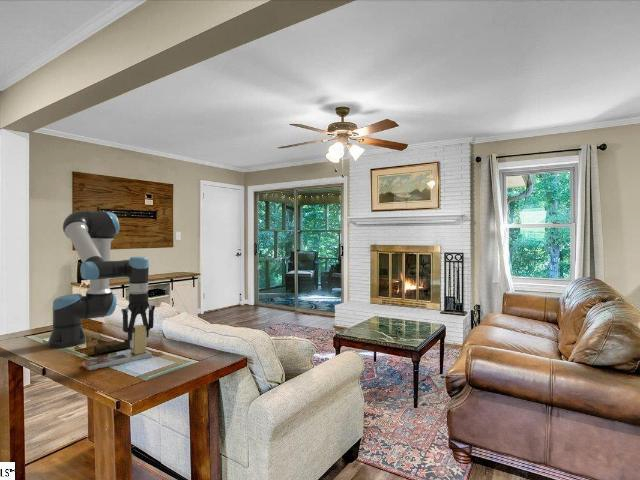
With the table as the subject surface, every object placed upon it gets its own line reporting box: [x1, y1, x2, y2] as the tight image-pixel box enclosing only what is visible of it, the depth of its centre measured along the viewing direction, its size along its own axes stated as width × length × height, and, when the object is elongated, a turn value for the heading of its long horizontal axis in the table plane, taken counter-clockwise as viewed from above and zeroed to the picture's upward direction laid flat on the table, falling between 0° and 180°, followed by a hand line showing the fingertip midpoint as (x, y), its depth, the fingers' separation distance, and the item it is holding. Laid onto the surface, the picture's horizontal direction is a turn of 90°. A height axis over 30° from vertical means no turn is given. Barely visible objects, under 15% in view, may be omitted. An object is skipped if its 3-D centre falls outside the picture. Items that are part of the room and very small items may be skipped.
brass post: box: [130, 323, 147, 356], centre depth 161 cm, size 4×4×12 cm
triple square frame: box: [82, 349, 153, 371], centre depth 155 cm, size 8×24×2 cm, turn 137°
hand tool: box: [93, 338, 131, 356], centre depth 170 cm, size 19×4×5 cm, turn 133°
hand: (138, 346), depth 161 cm, fingers closed on brass post, 4 cm apart
